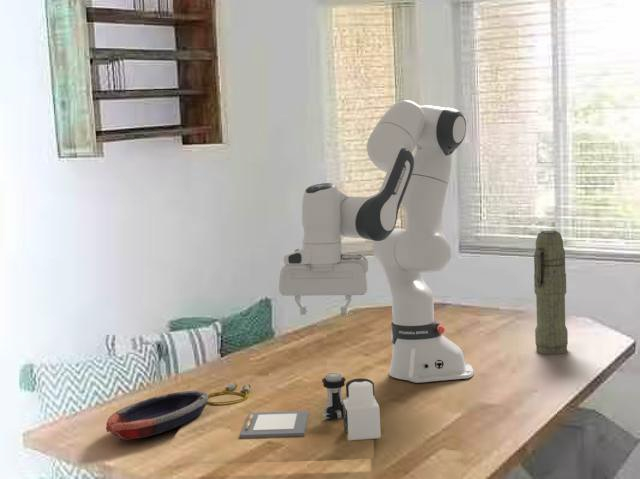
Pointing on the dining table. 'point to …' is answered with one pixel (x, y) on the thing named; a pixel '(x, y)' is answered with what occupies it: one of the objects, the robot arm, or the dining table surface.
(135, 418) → the dish
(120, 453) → the dining table surface
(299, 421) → the grey board
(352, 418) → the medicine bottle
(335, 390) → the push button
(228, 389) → the extension cord
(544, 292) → the thermos
